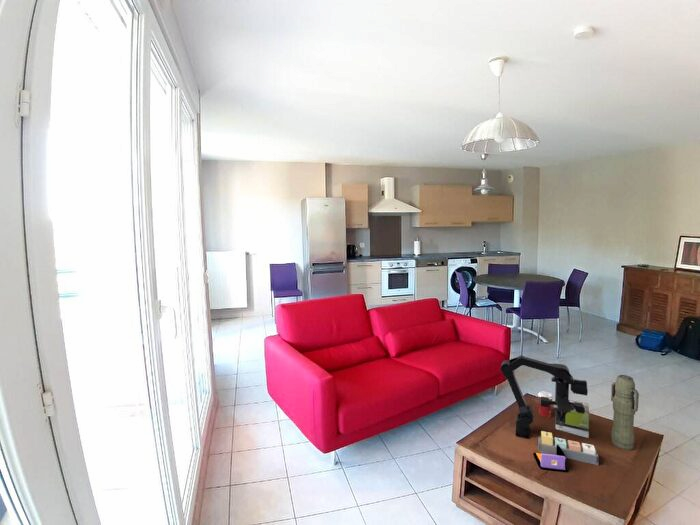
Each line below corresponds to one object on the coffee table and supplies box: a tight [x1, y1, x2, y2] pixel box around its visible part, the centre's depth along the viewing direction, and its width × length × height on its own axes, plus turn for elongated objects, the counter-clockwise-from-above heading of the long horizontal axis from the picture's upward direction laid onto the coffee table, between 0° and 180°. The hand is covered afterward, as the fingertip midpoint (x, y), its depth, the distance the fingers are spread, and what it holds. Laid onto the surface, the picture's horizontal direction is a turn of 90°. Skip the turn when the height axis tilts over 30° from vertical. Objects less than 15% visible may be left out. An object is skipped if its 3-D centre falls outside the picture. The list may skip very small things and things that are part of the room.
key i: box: [540, 430, 554, 446], centre depth 169 cm, size 5×5×4 cm
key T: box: [581, 442, 595, 455], centre depth 162 cm, size 5×5×4 cm
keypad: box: [537, 435, 600, 466], centre depth 166 cm, size 24×7×4 cm, turn 64°
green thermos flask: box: [610, 374, 640, 451], centre depth 172 cm, size 9×12×35 cm
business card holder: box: [532, 445, 569, 474], centre depth 160 cm, size 12×12×7 cm
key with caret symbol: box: [553, 436, 567, 449], centre depth 167 cm, size 5×5×4 cm
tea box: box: [555, 399, 590, 439], centre depth 186 cm, size 15×10×15 cm, turn 58°
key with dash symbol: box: [567, 439, 581, 452], centre depth 165 cm, size 5×5×4 cm
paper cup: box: [537, 390, 554, 419], centre depth 199 cm, size 8×8×14 cm
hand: (561, 421), depth 172 cm, fingers closed
